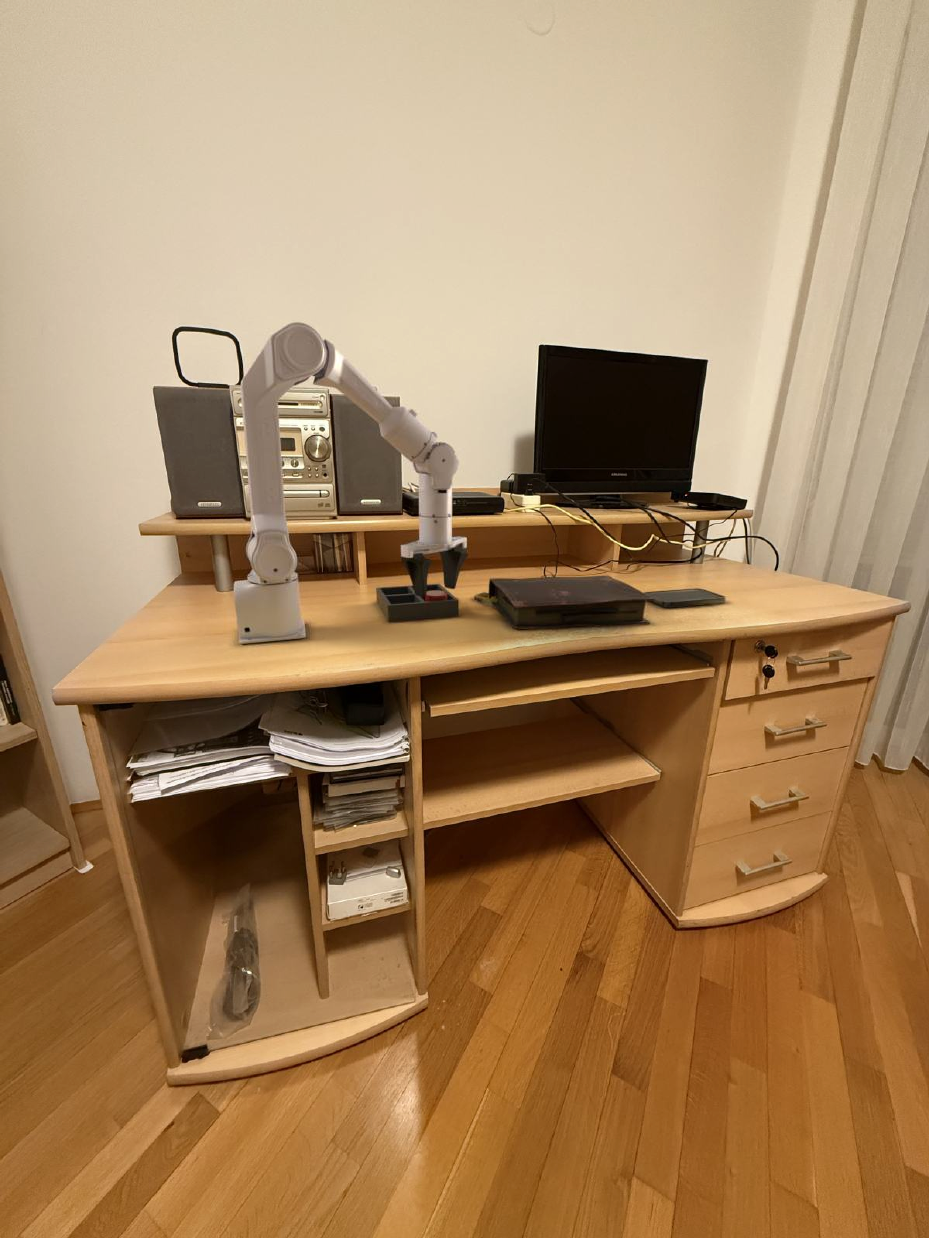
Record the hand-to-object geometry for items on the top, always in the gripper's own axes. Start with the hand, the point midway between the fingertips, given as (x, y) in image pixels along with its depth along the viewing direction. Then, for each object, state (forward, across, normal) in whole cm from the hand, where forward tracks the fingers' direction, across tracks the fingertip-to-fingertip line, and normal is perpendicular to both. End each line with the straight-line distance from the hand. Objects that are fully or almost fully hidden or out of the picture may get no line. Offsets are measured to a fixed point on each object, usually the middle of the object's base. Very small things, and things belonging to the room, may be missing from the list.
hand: (435, 591), depth 89 cm
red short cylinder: (+3, 0, 0) cm, 3 cm away
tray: (+4, -1, +4) cm, 6 cm away
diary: (+4, +17, -17) cm, 24 cm away
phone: (+4, +41, -31) cm, 52 cm away
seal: (+4, +16, -6) cm, 17 cm away
